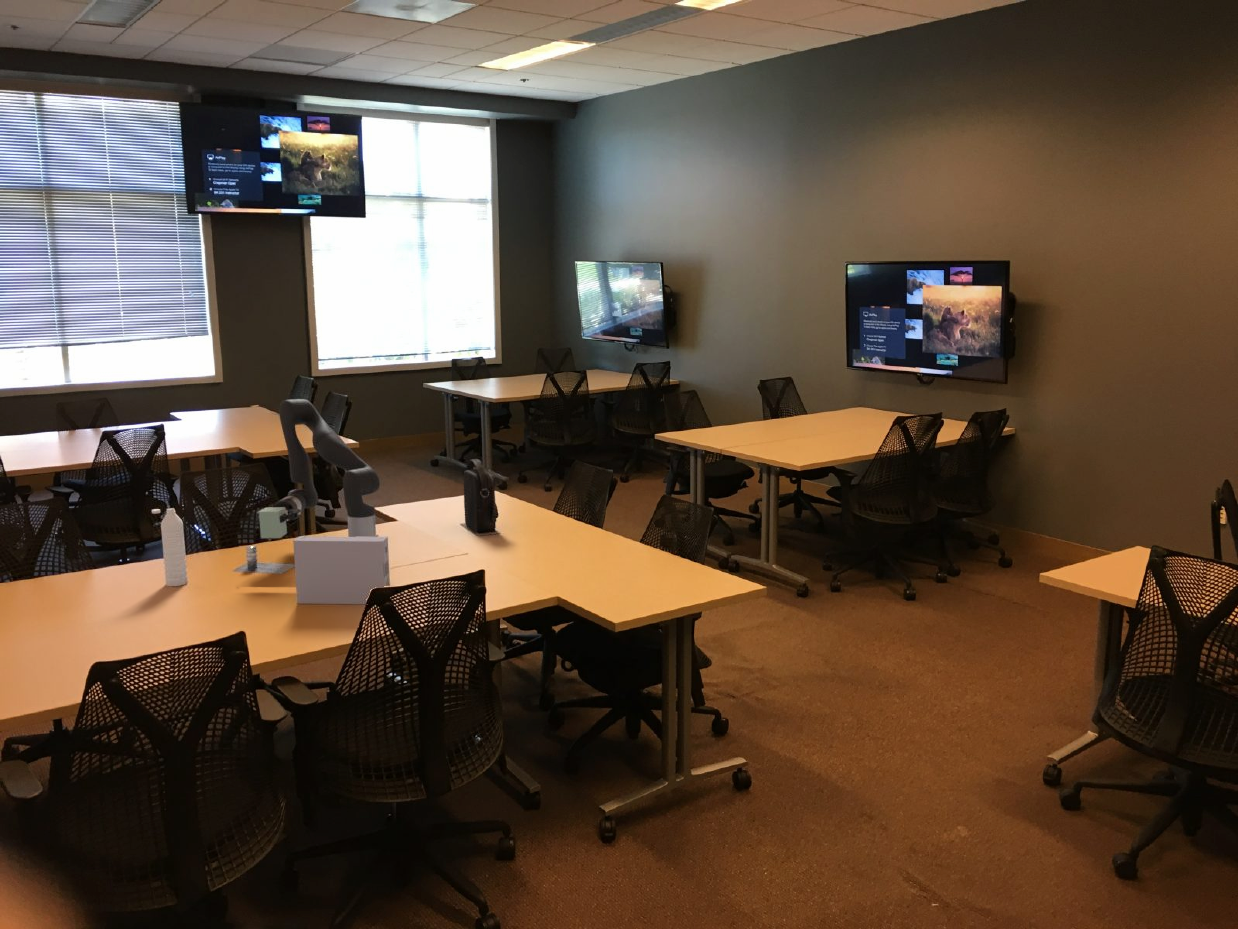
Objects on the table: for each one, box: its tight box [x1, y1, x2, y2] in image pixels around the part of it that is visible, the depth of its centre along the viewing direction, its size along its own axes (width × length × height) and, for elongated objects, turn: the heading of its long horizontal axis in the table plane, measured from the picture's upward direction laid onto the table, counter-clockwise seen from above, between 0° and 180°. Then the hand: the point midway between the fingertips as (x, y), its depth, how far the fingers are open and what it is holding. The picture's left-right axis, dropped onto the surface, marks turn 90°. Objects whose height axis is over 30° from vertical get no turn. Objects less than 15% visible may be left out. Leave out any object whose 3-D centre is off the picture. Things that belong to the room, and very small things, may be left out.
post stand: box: [231, 545, 295, 575], centre depth 332 cm, size 18×11×8 cm, turn 80°
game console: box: [292, 535, 391, 605], centre depth 301 cm, size 6×27×20 cm, turn 88°
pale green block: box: [258, 506, 288, 539], centre depth 329 cm, size 6×6×9 cm
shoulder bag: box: [459, 458, 501, 537], centre depth 389 cm, size 23×9×28 cm, turn 28°
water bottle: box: [151, 507, 189, 587], centre depth 317 cm, size 9×6×25 cm
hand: (270, 519), depth 326 cm, fingers closed on pale green block, 6 cm apart
